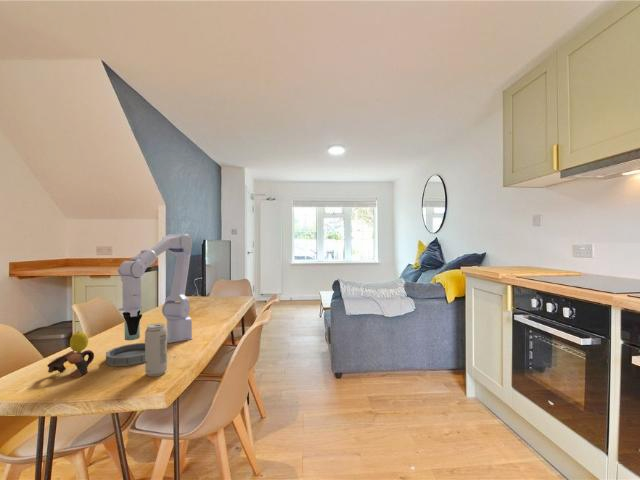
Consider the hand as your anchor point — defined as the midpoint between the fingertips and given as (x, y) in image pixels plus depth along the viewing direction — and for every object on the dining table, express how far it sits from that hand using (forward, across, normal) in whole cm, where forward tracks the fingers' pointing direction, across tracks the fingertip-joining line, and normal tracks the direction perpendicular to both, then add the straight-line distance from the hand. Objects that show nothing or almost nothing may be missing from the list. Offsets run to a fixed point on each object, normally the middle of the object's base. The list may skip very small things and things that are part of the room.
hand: (132, 333), depth 116 cm
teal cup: (+2, 0, 0) cm, 2 cm away
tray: (+9, 0, 0) cm, 9 cm away
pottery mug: (+9, +5, -17) cm, 20 cm away
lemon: (+9, -18, -16) cm, 26 cm away
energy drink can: (+9, +20, +5) cm, 22 cm away
